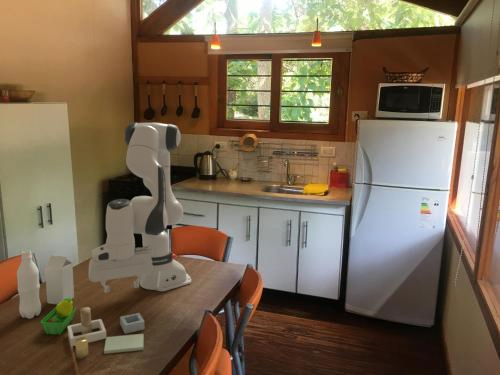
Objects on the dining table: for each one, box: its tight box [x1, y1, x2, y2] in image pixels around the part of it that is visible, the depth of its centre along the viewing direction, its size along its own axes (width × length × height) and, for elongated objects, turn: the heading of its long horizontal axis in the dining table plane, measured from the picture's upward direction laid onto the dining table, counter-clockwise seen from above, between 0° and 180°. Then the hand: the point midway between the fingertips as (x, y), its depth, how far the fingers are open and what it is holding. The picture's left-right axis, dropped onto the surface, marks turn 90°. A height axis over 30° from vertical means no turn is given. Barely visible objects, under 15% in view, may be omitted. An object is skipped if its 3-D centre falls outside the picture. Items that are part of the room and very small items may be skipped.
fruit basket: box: [40, 298, 77, 335], centre depth 147 cm, size 11×9×11 cm
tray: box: [67, 318, 107, 350], centre depth 142 cm, size 11×9×4 cm
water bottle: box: [16, 249, 42, 320], centre depth 154 cm, size 7×7×25 cm
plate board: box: [103, 333, 144, 355], centre depth 138 cm, size 12×8×2 cm, turn 104°
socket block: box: [119, 312, 146, 335], centre depth 149 cm, size 7×7×4 cm
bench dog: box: [75, 337, 89, 359], centre depth 131 cm, size 4×4×6 cm
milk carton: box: [44, 254, 75, 306], centre depth 166 cm, size 7×7×19 cm
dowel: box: [79, 306, 93, 335], centre depth 141 cm, size 3×3×10 cm
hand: (121, 289), depth 139 cm, fingers open, 8 cm apart
